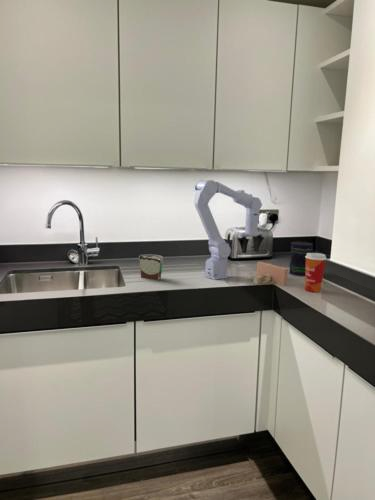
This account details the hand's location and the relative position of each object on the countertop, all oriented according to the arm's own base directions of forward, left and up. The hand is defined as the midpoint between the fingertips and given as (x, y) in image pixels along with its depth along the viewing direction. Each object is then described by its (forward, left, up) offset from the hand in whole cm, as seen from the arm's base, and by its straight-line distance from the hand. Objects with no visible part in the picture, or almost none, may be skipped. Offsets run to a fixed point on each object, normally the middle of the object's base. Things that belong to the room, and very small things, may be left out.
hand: (249, 252), depth 175 cm
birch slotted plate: (0, -14, -10) cm, 17 cm away
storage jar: (+22, -12, -11) cm, 27 cm away
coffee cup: (+4, -33, -11) cm, 35 cm away
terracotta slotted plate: (0, -14, -10) cm, 17 cm away
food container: (-43, +15, -11) cm, 47 cm away
